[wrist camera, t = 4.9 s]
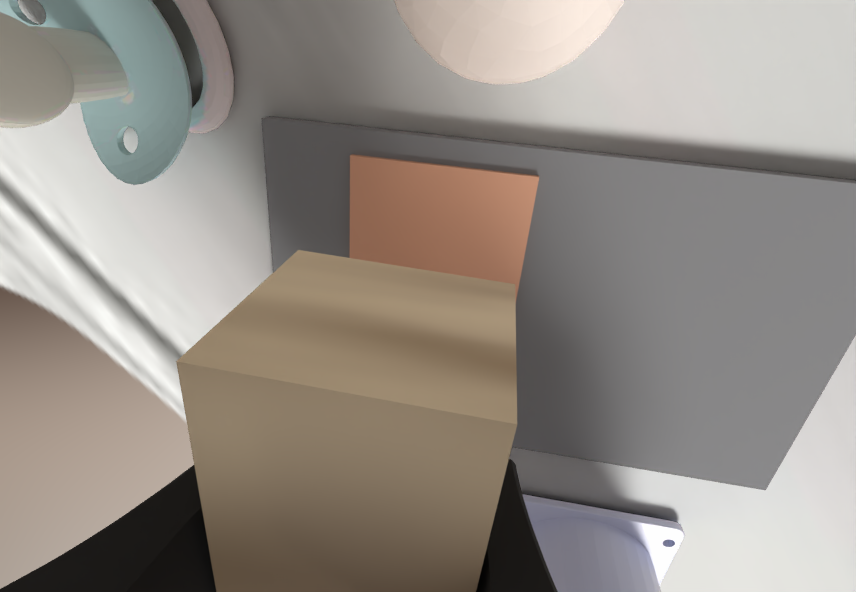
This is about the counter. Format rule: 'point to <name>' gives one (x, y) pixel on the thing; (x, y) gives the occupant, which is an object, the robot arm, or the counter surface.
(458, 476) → the tan wooden block
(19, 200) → the counter surface
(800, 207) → the rubber mat
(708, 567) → the counter surface
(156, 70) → the pacifier
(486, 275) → the terracotta strip
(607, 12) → the egg
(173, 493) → the robot arm
